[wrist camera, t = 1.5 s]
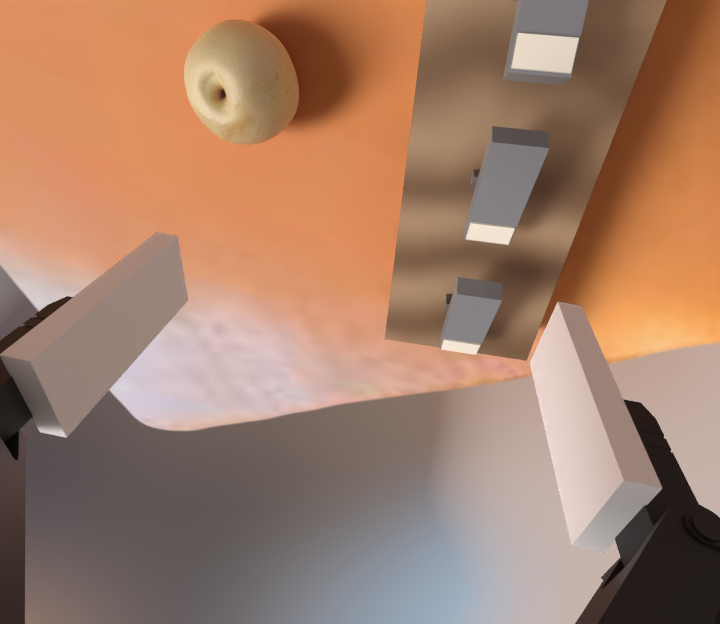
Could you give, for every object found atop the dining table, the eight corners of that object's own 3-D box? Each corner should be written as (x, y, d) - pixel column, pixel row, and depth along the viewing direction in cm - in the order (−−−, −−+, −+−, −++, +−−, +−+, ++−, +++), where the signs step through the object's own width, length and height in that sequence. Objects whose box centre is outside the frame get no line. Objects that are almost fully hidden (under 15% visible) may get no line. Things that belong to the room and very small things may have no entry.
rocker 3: (492, 126, 26) (492, 143, 25) (547, 131, 25) (549, 149, 24) (464, 224, 32) (463, 241, 31) (508, 229, 32) (508, 246, 31)
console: (445, -128, 26) (445, -161, 20) (681, -117, 24) (744, -149, 19) (390, 308, 45) (382, 349, 39) (521, 327, 43) (532, 372, 38)
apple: (334, 97, 34) (283, 163, 30) (263, 108, 38) (213, 167, 35) (280, -17, 28) (212, 51, 25) (205, 13, 32) (139, 73, 29)
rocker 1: (457, 276, 32) (456, 295, 31) (502, 282, 32) (502, 302, 31) (440, 333, 38) (439, 350, 38) (477, 338, 38) (476, 355, 37)
